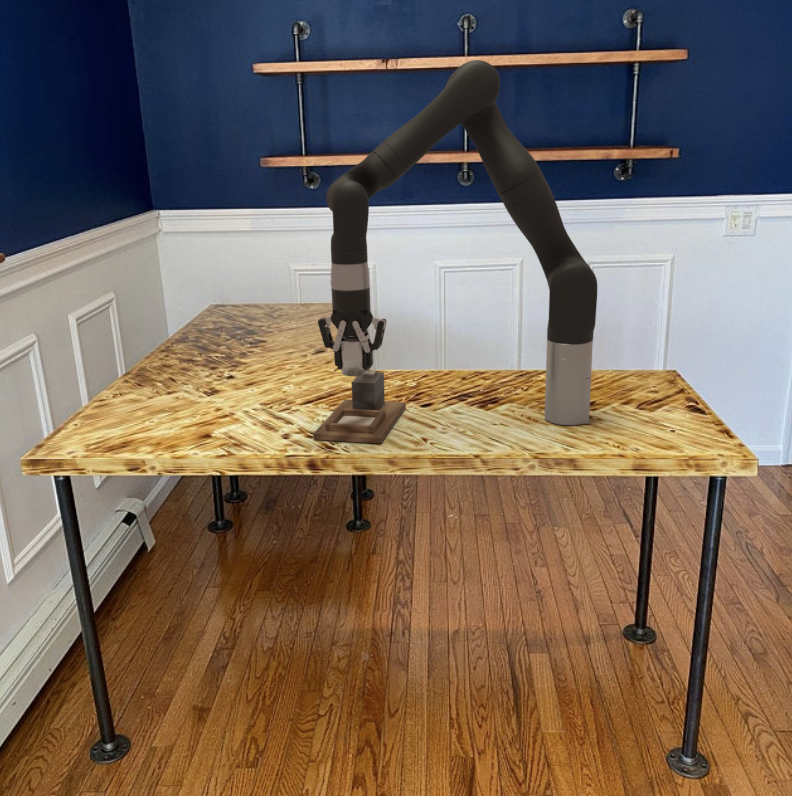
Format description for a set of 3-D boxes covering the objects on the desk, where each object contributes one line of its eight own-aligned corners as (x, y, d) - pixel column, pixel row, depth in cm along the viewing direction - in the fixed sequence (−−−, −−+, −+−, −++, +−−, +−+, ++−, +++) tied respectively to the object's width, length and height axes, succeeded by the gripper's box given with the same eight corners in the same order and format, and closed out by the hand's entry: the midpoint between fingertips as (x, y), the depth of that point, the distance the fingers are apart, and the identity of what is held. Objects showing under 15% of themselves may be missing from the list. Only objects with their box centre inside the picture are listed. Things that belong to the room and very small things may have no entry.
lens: (369, 369, 169) (368, 334, 167) (362, 376, 164) (361, 340, 162) (346, 368, 170) (344, 333, 168) (338, 375, 165) (337, 339, 163)
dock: (405, 407, 183) (404, 368, 180) (381, 443, 163) (379, 400, 160) (345, 404, 186) (343, 365, 183) (313, 439, 166) (310, 396, 163)
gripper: (390, 282, 163) (392, 365, 169) (321, 280, 167) (325, 362, 172) (381, 289, 156) (383, 375, 162) (309, 288, 160) (314, 372, 165)
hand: (353, 368), depth 167 cm, fingers closed on lens, 5 cm apart
